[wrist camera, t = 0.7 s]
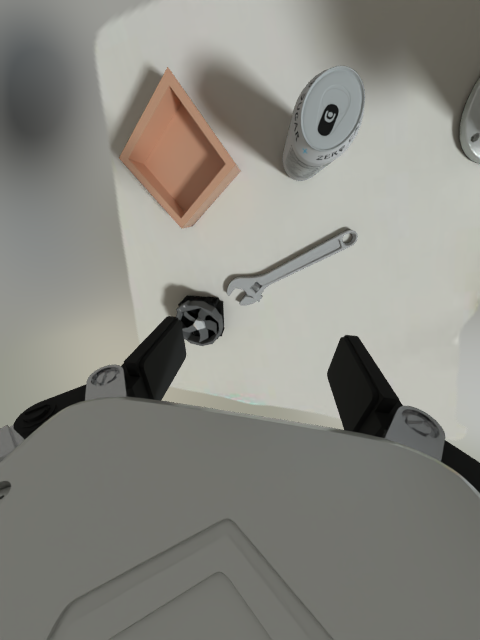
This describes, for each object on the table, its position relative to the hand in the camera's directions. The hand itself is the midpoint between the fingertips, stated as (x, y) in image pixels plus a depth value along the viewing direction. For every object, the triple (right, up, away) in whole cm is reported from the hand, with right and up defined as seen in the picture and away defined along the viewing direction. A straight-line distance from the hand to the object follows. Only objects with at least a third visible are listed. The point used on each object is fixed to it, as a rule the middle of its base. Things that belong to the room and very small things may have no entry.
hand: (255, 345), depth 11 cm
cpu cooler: (-9, +3, +33) cm, 35 cm away
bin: (-9, +26, +19) cm, 34 cm away
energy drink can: (+8, +26, +17) cm, 32 cm away
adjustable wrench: (+8, +11, +26) cm, 30 cm away
